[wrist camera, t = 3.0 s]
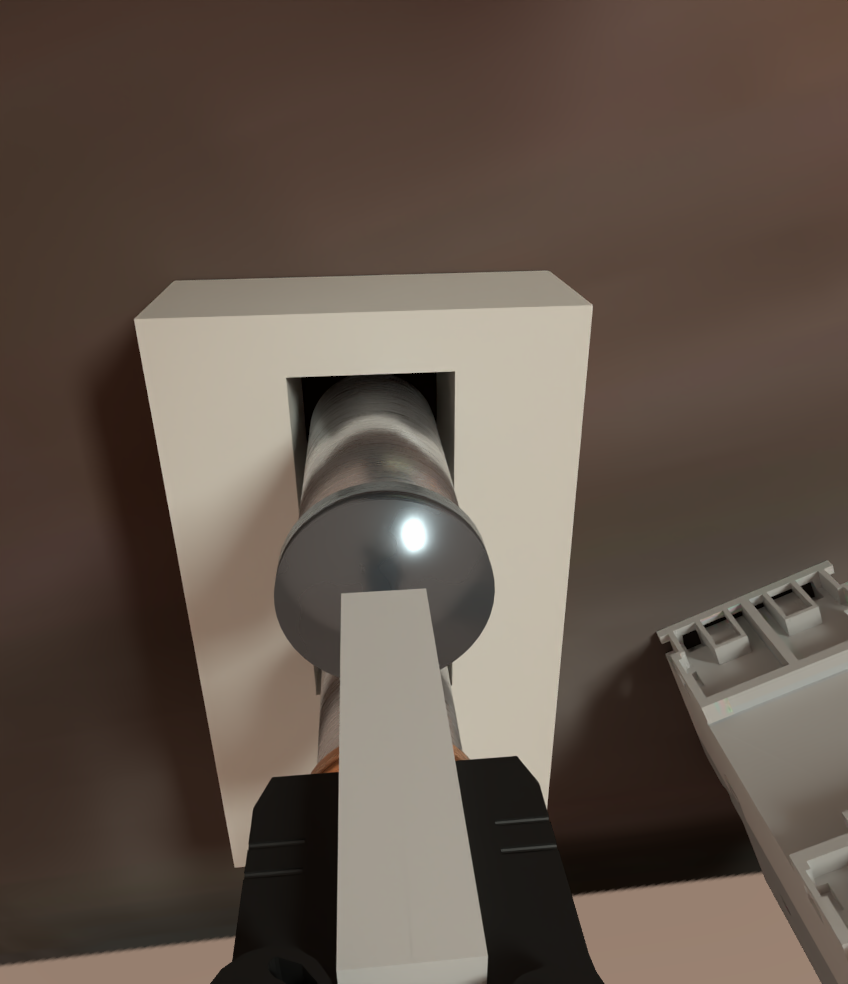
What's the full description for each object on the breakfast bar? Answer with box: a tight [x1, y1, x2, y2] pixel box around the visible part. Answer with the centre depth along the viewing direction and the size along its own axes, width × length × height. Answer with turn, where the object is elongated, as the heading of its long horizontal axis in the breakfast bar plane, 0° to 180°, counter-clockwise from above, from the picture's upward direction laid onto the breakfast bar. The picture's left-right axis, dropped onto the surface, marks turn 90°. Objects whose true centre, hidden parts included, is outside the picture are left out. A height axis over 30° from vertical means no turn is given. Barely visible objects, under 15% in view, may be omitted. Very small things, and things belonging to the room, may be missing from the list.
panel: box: [134, 271, 593, 868], centre depth 27 cm, size 21×12×5 cm, turn 1°
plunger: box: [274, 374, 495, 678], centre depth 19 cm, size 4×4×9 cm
